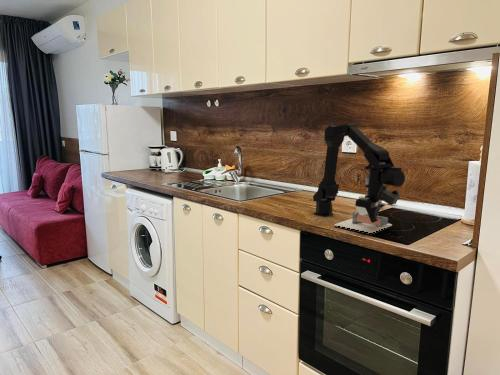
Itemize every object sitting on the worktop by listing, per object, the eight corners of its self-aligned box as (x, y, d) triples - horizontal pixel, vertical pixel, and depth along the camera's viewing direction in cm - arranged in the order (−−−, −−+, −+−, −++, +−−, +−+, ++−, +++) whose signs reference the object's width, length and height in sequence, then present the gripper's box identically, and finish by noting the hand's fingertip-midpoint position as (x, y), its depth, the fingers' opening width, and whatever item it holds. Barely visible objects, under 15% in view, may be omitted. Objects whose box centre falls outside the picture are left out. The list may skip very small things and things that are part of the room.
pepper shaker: (363, 216, 163) (364, 195, 161) (367, 218, 159) (369, 197, 158) (355, 216, 162) (356, 195, 161) (359, 219, 159) (360, 197, 157)
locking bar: (350, 223, 149) (351, 212, 149) (354, 222, 151) (354, 211, 150) (377, 229, 141) (378, 218, 140) (380, 228, 142) (381, 217, 142)
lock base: (334, 225, 148) (334, 218, 147) (355, 218, 159) (356, 211, 159) (371, 234, 136) (372, 226, 136) (391, 225, 148) (392, 218, 148)
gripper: (385, 188, 127) (381, 231, 129) (407, 182, 139) (403, 222, 142) (356, 183, 134) (353, 225, 137) (380, 179, 147) (376, 216, 150)
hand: (372, 222), depth 141 cm, fingers closed
